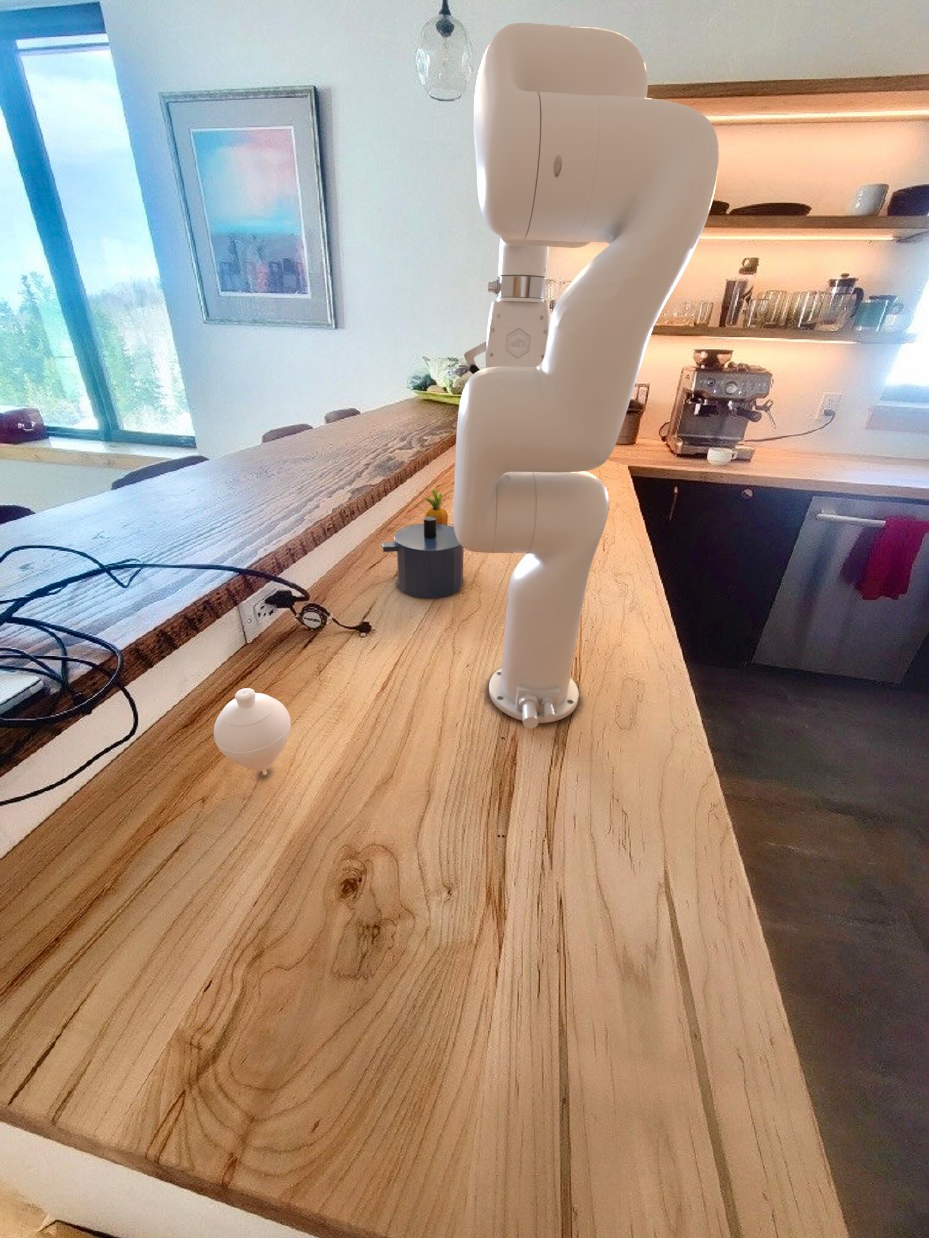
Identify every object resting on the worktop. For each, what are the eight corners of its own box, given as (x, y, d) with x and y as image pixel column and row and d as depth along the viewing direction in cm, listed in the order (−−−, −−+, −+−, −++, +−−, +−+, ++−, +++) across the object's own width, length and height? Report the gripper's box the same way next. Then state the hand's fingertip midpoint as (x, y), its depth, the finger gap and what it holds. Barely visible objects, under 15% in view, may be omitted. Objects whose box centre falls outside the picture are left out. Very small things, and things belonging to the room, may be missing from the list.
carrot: (444, 564, 108) (445, 496, 100) (422, 561, 109) (421, 493, 101) (449, 555, 112) (450, 489, 104) (428, 552, 113) (427, 486, 105)
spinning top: (275, 740, 62) (257, 661, 56) (313, 771, 58) (298, 690, 52) (215, 777, 57) (189, 695, 51) (252, 814, 53) (228, 729, 47)
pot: (481, 594, 97) (484, 548, 92) (387, 601, 93) (385, 554, 88) (467, 566, 107) (468, 524, 102) (382, 572, 104) (379, 529, 99)
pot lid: (473, 553, 91) (474, 529, 89) (398, 558, 89) (397, 533, 86) (457, 527, 103) (458, 505, 100) (391, 530, 100) (389, 508, 98)
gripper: (465, 288, 76) (461, 410, 84) (580, 292, 75) (564, 414, 84) (466, 291, 82) (463, 403, 91) (572, 294, 82) (559, 407, 91)
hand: (512, 408), depth 88 cm, fingers open, 9 cm apart
